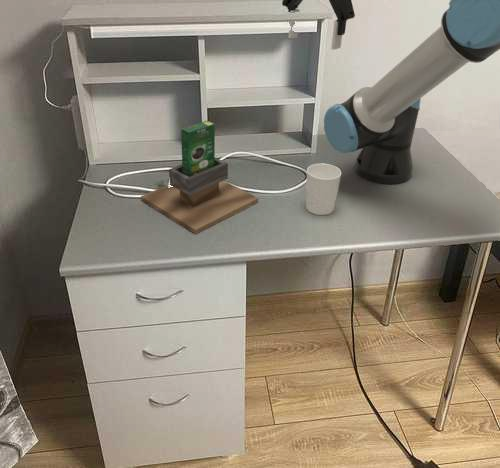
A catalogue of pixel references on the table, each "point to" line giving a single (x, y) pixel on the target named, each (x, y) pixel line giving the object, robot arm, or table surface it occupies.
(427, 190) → the table surface
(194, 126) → the coffee box
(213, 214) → the display stand
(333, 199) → the white cup
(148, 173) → the table surface
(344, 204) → the table surface
